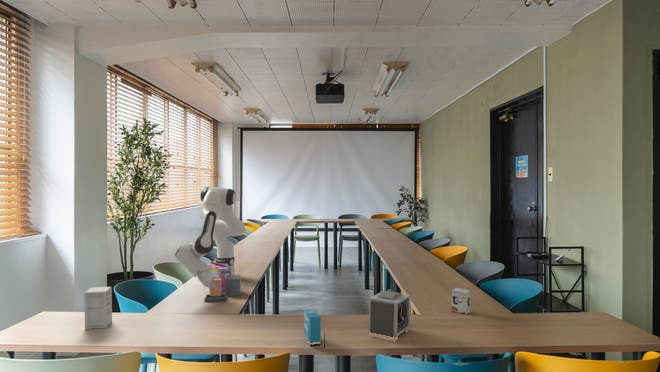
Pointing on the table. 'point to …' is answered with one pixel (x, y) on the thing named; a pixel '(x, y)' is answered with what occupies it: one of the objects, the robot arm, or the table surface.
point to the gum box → (220, 272)
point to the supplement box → (98, 307)
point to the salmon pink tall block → (218, 290)
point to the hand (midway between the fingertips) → (216, 286)
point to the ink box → (461, 300)
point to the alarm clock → (389, 313)
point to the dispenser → (233, 285)
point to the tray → (215, 298)
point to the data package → (312, 326)
